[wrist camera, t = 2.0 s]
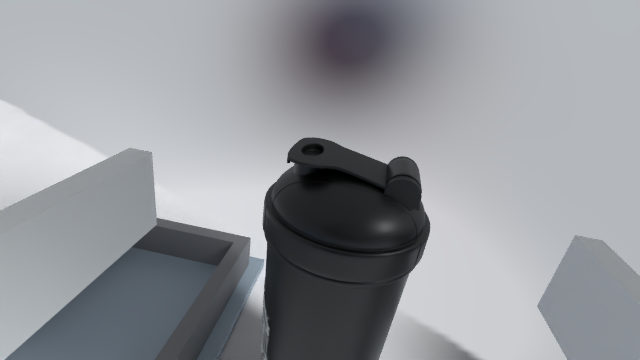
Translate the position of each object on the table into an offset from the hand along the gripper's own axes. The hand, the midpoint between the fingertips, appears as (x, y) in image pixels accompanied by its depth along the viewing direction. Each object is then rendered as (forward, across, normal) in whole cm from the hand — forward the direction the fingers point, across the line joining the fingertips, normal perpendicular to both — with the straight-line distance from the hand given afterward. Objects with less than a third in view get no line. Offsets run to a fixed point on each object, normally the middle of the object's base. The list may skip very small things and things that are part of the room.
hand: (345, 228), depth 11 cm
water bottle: (+10, 0, -24) cm, 26 cm away
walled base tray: (+16, -19, -24) cm, 34 cm away
